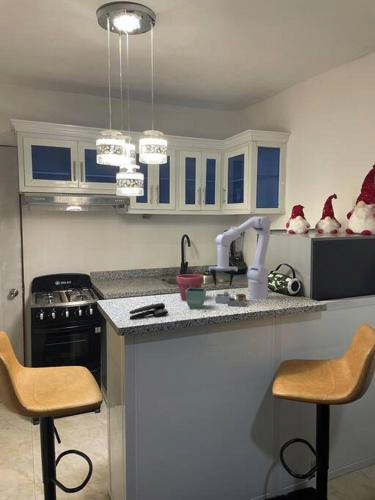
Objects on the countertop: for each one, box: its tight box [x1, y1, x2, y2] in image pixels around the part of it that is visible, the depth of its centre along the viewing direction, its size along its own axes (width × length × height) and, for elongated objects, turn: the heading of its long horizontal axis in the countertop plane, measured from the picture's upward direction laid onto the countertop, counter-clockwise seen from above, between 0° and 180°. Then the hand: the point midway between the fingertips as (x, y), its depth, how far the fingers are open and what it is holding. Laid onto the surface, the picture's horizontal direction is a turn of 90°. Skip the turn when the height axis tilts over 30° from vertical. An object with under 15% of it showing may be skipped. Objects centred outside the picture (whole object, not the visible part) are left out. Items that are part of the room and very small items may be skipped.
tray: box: [227, 298, 246, 308], centre depth 194 cm, size 8×8×3 cm
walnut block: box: [235, 293, 247, 303], centre depth 202 cm, size 4×4×4 cm
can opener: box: [128, 302, 169, 320], centre depth 173 cm, size 18×7×6 cm, turn 119°
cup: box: [215, 293, 231, 305], centre depth 200 cm, size 7×7×4 cm
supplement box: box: [247, 265, 269, 294], centre depth 229 cm, size 9×9×15 cm
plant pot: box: [176, 273, 204, 302], centre depth 208 cm, size 14×14×13 cm
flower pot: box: [185, 287, 207, 310], centre depth 189 cm, size 9×9×9 cm
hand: (223, 284), depth 199 cm, fingers open, 7 cm apart
